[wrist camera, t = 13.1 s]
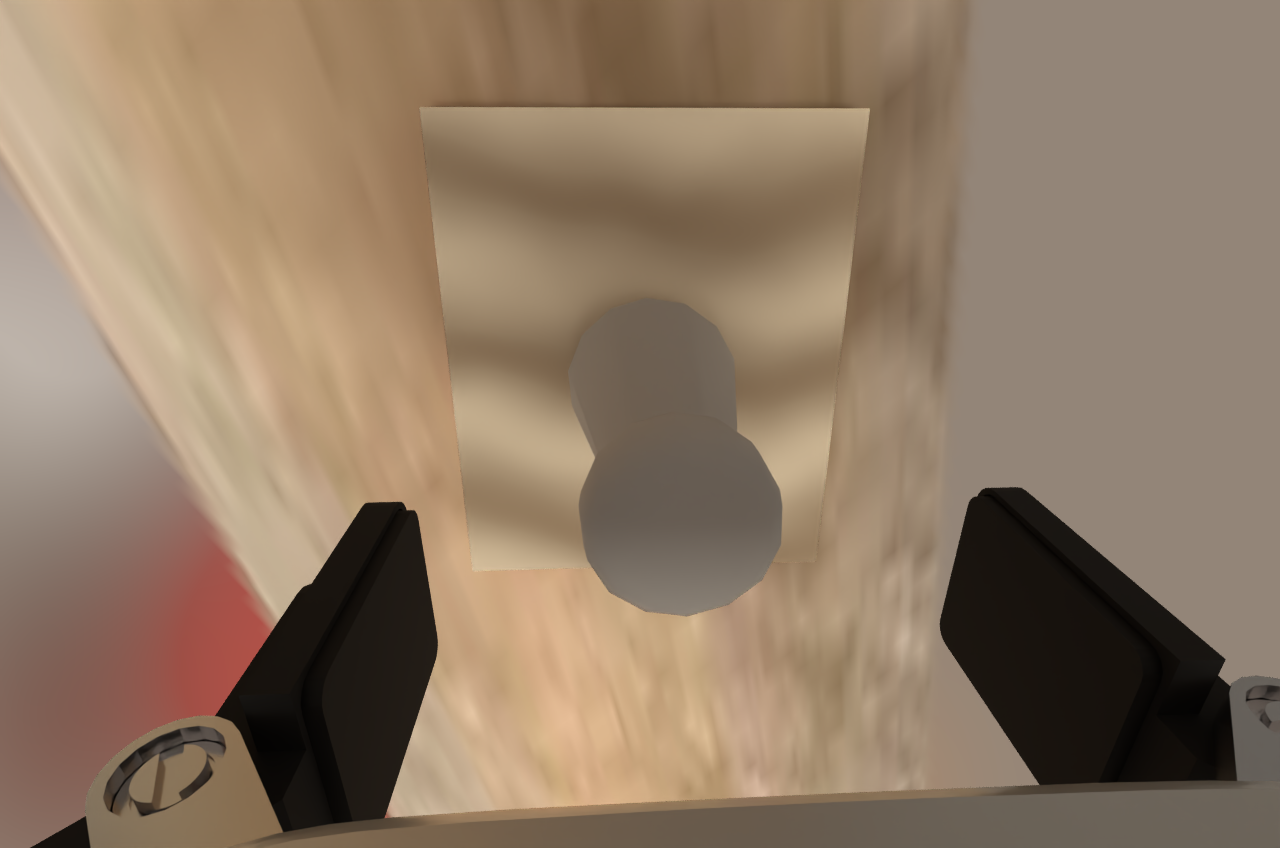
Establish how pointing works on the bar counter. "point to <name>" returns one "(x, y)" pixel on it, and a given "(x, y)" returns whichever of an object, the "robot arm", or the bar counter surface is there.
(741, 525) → the salt shaker
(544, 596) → the bar counter surface
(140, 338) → the bar counter surface
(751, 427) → the serving board
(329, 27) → the bar counter surface
